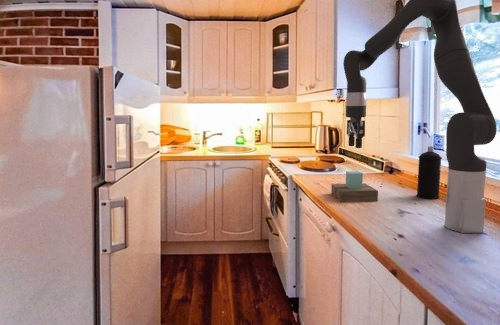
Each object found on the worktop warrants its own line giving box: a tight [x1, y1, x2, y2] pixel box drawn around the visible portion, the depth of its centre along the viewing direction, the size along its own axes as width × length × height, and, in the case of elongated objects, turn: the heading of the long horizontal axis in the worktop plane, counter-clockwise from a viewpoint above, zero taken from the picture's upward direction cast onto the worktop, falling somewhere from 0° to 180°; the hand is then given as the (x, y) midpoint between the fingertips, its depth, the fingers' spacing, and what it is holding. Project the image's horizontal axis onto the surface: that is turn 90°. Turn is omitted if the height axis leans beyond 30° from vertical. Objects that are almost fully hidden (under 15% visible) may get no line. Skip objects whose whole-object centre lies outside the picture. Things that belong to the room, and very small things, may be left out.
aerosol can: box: [415, 145, 443, 200], centre depth 142 cm, size 8×8×20 cm
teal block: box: [345, 170, 364, 189], centre depth 143 cm, size 5×5×6 cm
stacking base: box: [331, 183, 379, 203], centre depth 144 cm, size 14×14×4 cm
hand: (354, 147), depth 141 cm, fingers open, 8 cm apart
